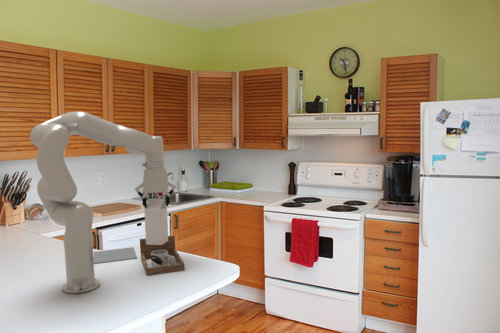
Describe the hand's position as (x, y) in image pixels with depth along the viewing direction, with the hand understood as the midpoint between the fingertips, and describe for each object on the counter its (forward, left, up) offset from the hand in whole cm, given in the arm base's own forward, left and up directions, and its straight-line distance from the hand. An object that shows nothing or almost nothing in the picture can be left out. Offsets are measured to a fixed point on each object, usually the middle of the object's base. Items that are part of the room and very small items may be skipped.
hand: (156, 206), depth 184 cm
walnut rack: (-5, 0, -24) cm, 24 cm away
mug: (-10, 0, -24) cm, 26 cm away
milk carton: (0, 0, -16) cm, 16 cm away
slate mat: (+17, +18, -24) cm, 34 cm away
